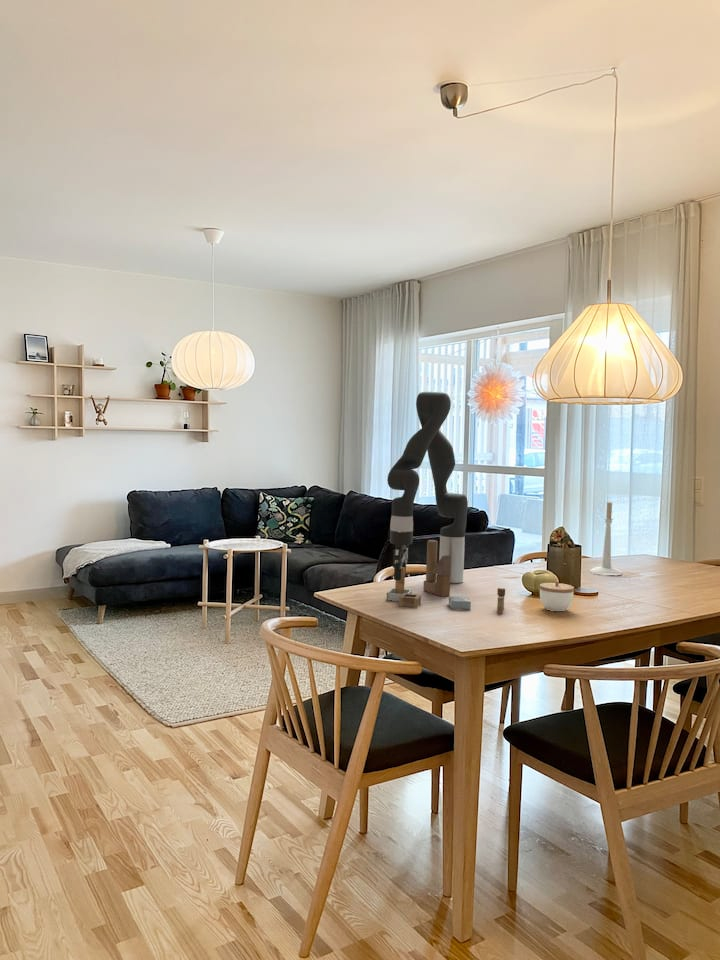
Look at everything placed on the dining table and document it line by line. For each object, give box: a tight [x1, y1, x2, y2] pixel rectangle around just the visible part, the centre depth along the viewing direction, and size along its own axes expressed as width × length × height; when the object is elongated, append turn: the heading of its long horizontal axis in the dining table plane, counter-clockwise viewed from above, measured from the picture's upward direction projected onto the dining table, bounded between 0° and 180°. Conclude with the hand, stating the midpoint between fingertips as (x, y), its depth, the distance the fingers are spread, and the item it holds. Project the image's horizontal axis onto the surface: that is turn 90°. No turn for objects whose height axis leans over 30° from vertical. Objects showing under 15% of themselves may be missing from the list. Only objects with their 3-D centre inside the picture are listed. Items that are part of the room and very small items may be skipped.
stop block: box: [496, 587, 506, 615], centre depth 236 cm, size 9×2×7 cm, turn 166°
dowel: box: [394, 567, 406, 594], centre depth 248 cm, size 3×3×10 cm
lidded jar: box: [539, 580, 575, 612], centre depth 240 cm, size 11×11×9 cm
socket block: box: [398, 593, 422, 608], centre depth 240 cm, size 6×6×3 cm
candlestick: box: [589, 501, 622, 573], centre depth 309 cm, size 13×13×30 cm
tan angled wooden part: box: [422, 539, 451, 597], centre depth 259 cm, size 4×11×18 cm, turn 31°
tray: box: [385, 588, 413, 602], centre depth 249 cm, size 8×7×2 cm
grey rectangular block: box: [448, 595, 472, 611], centre depth 239 cm, size 7×6×3 cm
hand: (399, 577), depth 248 cm, fingers open, 8 cm apart
